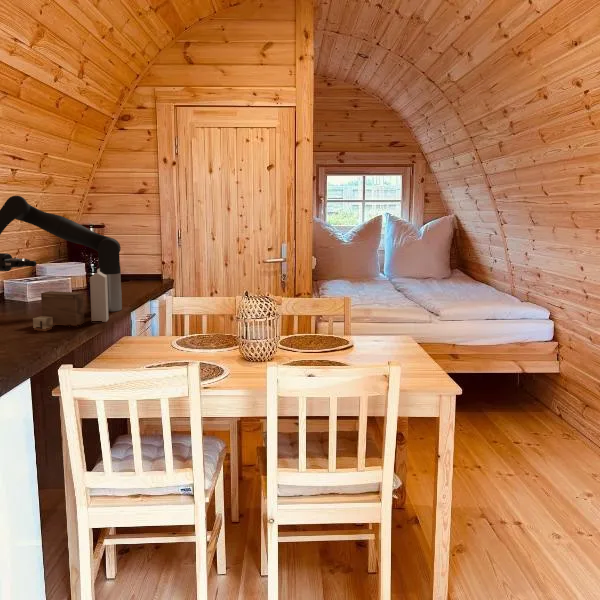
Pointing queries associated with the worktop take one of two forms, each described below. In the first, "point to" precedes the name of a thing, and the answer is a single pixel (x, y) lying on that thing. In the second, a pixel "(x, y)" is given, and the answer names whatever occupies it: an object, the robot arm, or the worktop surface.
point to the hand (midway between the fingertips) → (35, 263)
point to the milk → (99, 297)
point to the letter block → (42, 322)
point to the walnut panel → (63, 307)
